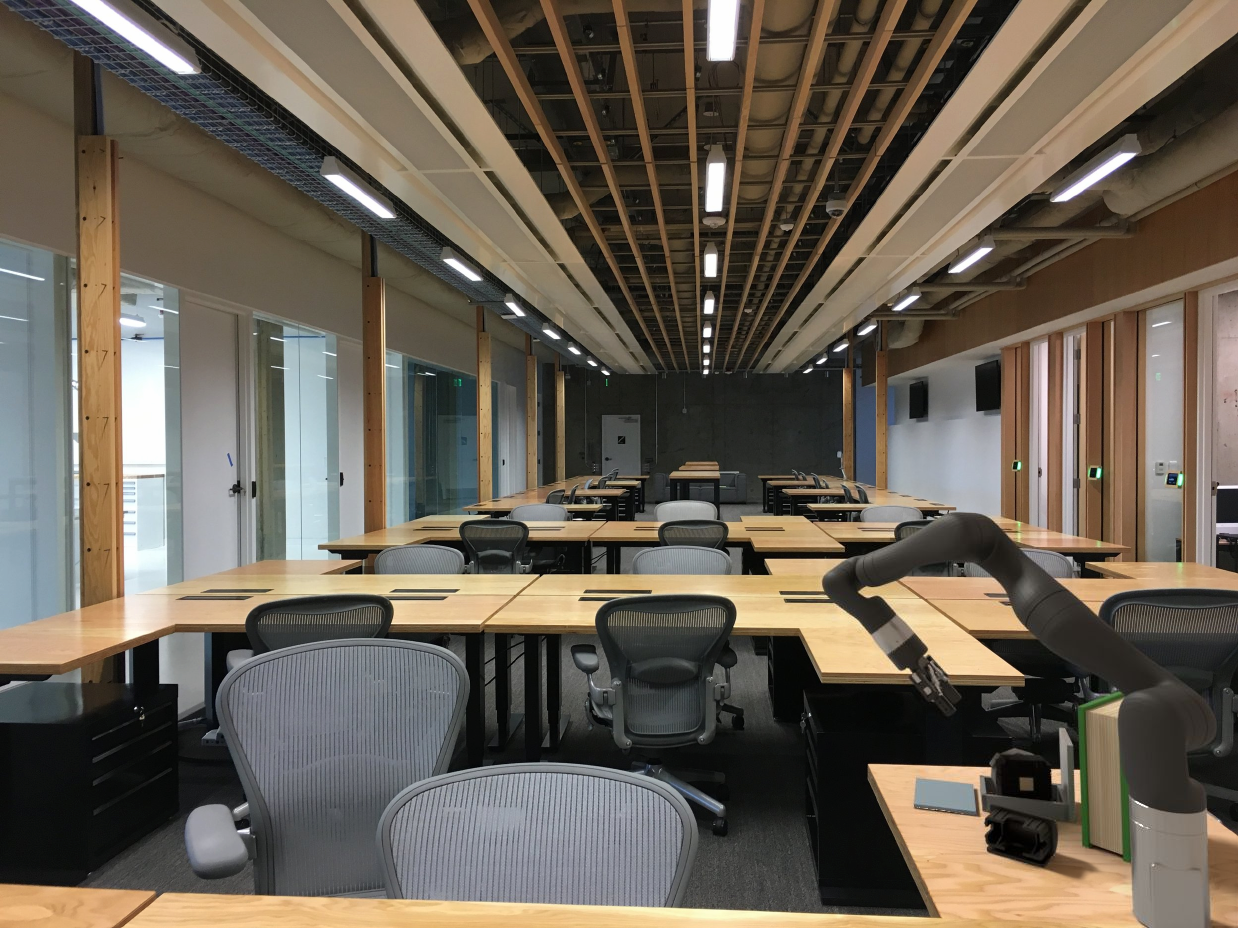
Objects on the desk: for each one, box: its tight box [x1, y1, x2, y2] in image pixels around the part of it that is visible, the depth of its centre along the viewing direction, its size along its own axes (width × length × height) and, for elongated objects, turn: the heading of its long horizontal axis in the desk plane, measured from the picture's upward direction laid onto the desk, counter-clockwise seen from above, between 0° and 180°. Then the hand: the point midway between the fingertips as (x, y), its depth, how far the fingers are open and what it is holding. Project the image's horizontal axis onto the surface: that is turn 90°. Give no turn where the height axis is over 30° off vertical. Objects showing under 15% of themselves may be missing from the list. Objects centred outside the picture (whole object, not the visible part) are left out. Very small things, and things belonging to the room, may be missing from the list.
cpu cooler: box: [989, 747, 1053, 802], centre depth 154 cm, size 10×6×10 cm, turn 82°
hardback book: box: [1077, 690, 1131, 864], centre depth 139 cm, size 18×7×24 cm, turn 124°
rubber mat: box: [913, 777, 977, 816], centre depth 159 cm, size 14×11×1 cm
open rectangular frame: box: [979, 727, 1077, 823], centre depth 154 cm, size 11×16×14 cm
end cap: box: [983, 804, 1059, 869], centre depth 136 cm, size 10×7×7 cm
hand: (955, 707), depth 161 cm, fingers open, 8 cm apart
